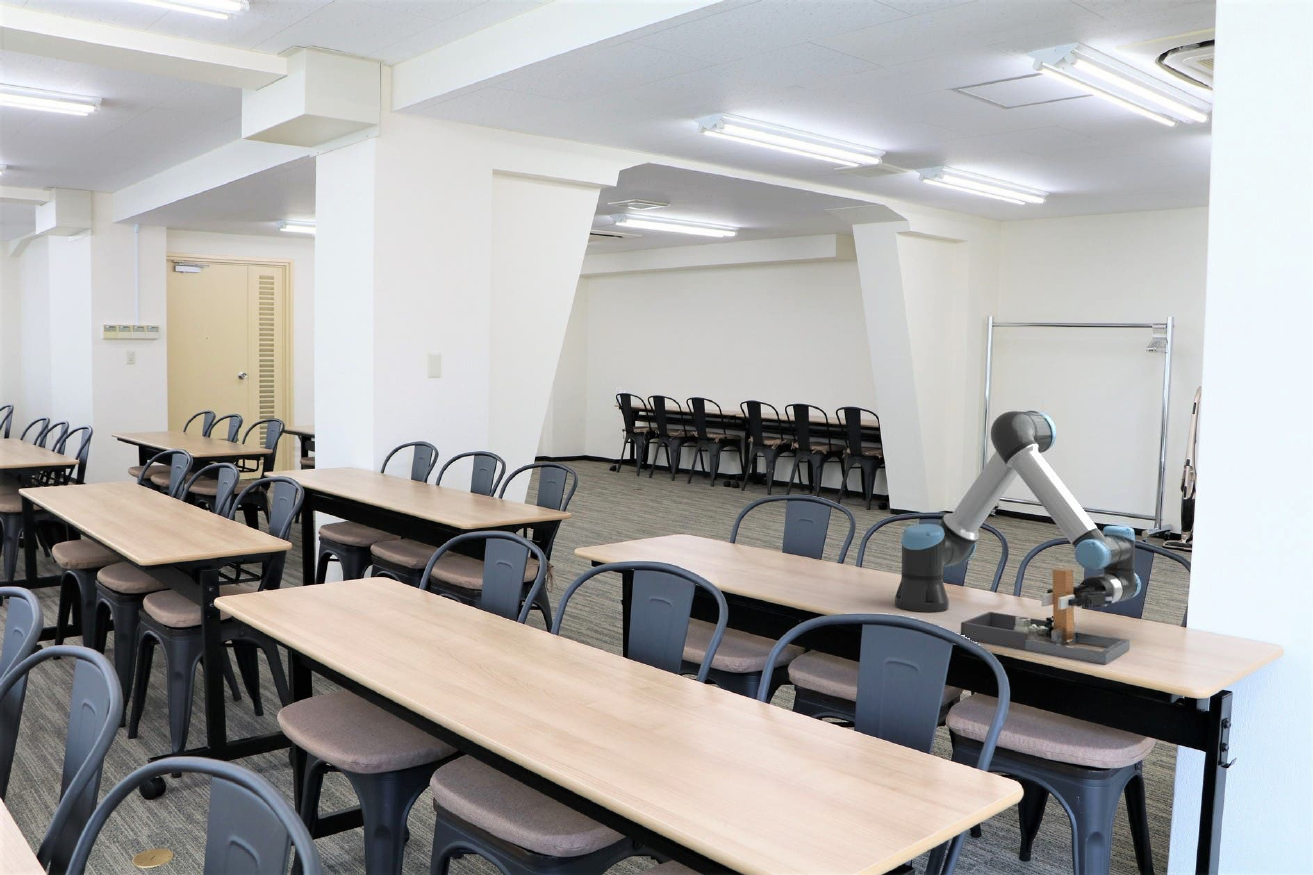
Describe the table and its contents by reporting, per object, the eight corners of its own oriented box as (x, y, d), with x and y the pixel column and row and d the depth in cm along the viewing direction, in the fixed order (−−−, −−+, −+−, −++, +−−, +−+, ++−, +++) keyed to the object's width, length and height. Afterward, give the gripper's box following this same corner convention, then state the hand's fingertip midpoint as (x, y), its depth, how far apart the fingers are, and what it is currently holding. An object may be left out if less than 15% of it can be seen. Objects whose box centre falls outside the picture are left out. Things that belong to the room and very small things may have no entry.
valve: (1023, 648, 241) (1064, 645, 244) (1024, 621, 240) (1065, 618, 244) (1006, 641, 247) (1046, 638, 250) (1007, 615, 247) (1047, 612, 250)
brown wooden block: (1064, 637, 248) (1063, 565, 247) (1081, 639, 245) (1080, 566, 245) (1045, 646, 238) (1044, 572, 238) (1062, 649, 235) (1061, 573, 235)
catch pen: (989, 626, 263) (989, 611, 263) (1051, 636, 252) (1052, 621, 252) (960, 638, 250) (961, 622, 250) (1025, 649, 239) (1026, 633, 239)
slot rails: (1052, 636, 252) (1052, 627, 252) (1129, 649, 240) (1129, 639, 240) (1025, 650, 239) (1025, 639, 239) (1105, 664, 227) (1106, 653, 226)
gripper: (1131, 611, 246) (1084, 624, 232) (1068, 599, 259) (1019, 611, 244) (1132, 581, 246) (1085, 592, 231) (1069, 571, 259) (1020, 581, 244)
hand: (1051, 602), depth 238 cm, fingers closed on brown wooden block, 3 cm apart
